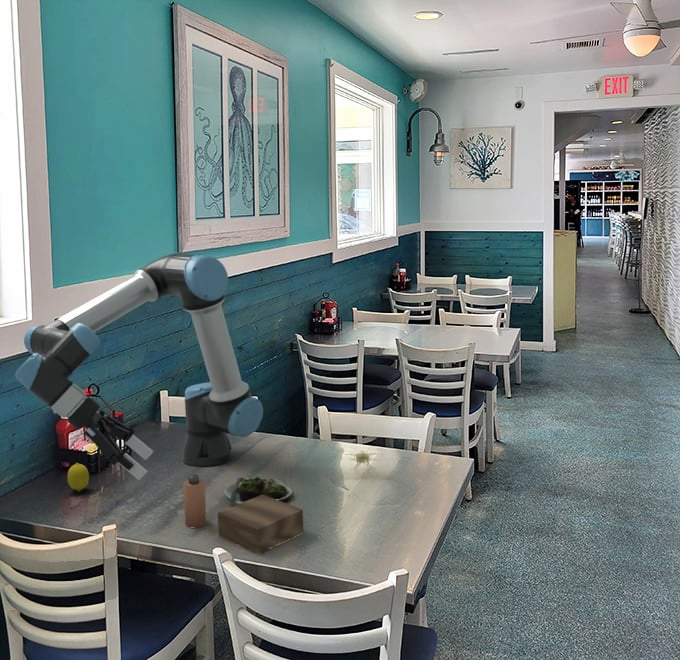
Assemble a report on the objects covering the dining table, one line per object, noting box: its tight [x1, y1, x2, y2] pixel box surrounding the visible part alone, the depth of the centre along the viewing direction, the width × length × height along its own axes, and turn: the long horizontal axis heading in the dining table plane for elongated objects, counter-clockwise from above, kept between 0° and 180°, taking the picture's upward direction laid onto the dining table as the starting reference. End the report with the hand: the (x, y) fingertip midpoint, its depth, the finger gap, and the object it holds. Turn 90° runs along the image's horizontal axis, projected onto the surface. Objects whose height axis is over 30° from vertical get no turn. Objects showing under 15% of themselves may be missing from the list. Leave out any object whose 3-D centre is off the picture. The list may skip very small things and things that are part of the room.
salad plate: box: [224, 476, 294, 506], centre depth 202 cm, size 19×18×5 cm
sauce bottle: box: [182, 474, 207, 528], centre depth 184 cm, size 5×5×12 cm
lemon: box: [67, 462, 90, 492], centre depth 206 cm, size 6×6×8 cm
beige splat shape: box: [343, 446, 377, 474], centre depth 216 cm, size 10×13×8 cm
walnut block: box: [217, 495, 304, 555], centre depth 178 cm, size 14×14×6 cm
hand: (146, 465), depth 181 cm, fingers open, 13 cm apart
